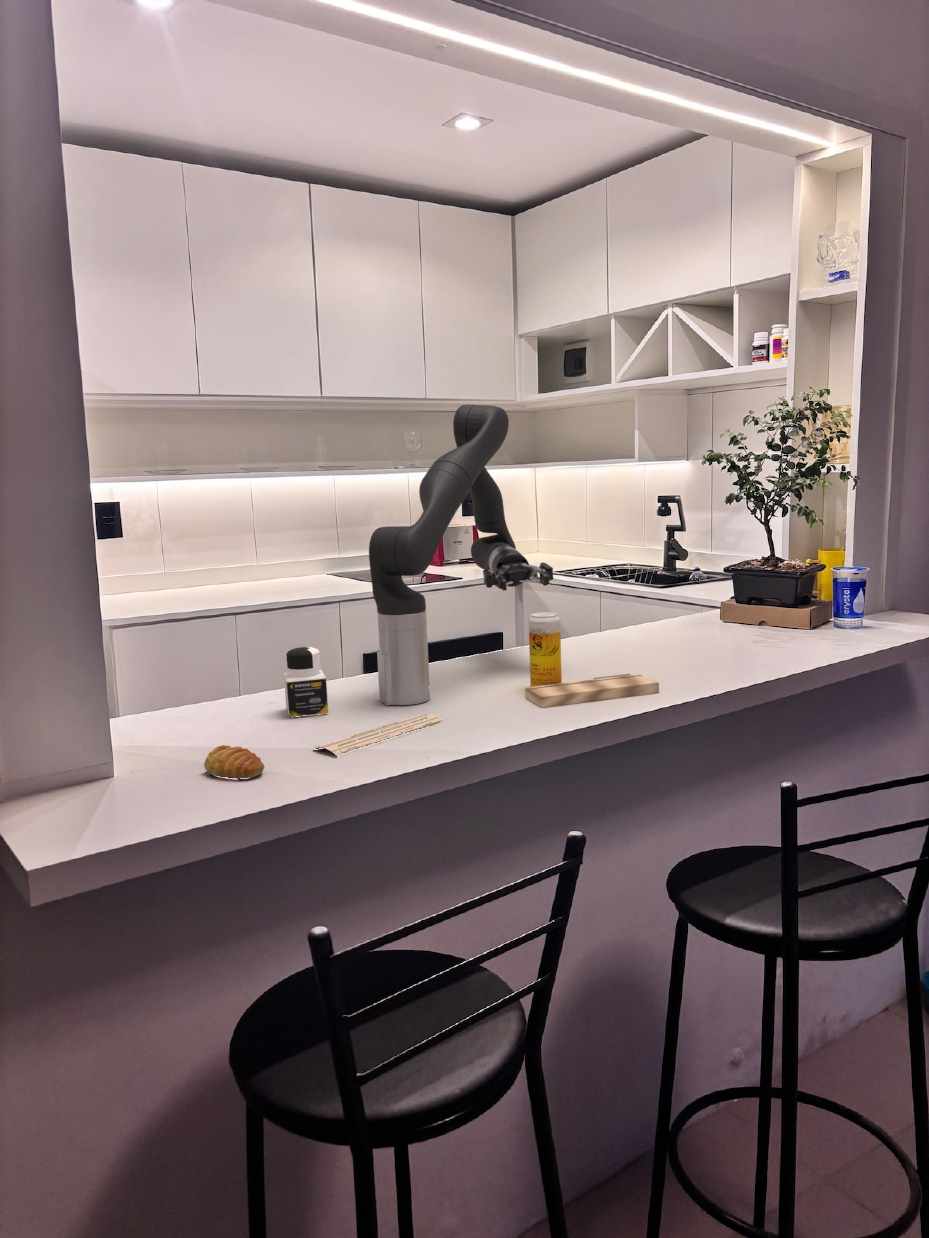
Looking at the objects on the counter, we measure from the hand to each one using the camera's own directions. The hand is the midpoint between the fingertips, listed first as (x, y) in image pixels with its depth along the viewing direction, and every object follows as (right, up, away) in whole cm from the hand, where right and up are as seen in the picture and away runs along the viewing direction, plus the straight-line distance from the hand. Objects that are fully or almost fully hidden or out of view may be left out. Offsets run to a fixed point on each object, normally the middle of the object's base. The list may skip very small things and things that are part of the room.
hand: (525, 583), depth 179 cm
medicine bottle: (-42, -25, -15) cm, 51 cm away
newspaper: (-27, -28, -31) cm, 50 cm away
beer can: (+4, -21, -6) cm, 22 cm away
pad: (+19, -20, -1) cm, 27 cm away
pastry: (-46, -30, -47) cm, 73 cm away
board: (+12, -22, -11) cm, 27 cm away
